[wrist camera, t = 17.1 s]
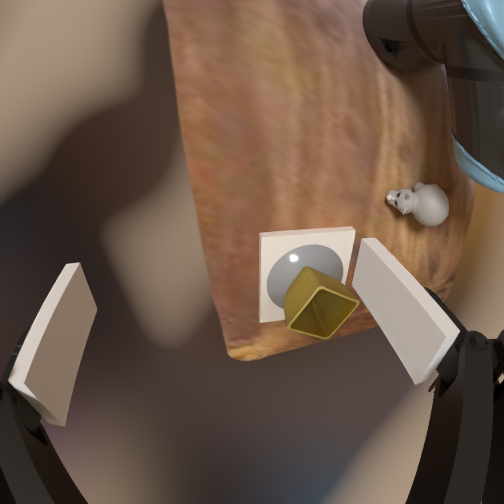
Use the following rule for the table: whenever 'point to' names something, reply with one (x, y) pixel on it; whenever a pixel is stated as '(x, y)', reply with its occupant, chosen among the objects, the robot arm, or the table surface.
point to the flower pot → (317, 304)
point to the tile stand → (298, 262)
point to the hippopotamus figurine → (421, 203)
